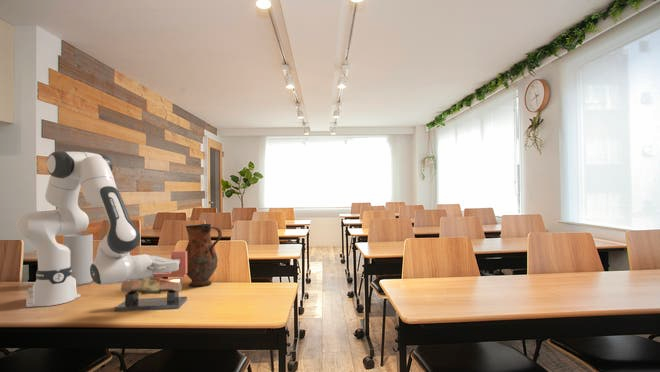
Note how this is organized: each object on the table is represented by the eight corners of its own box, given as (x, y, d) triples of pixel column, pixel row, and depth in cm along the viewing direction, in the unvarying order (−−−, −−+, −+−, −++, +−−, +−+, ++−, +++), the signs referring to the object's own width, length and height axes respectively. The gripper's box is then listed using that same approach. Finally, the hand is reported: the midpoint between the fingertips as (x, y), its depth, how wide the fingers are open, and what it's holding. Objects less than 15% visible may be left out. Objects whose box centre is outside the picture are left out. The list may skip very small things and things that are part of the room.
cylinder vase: (91, 279, 193) (91, 233, 193) (94, 283, 183) (93, 234, 184) (62, 283, 185) (62, 234, 186) (63, 288, 175) (63, 237, 176)
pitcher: (197, 279, 189) (197, 222, 190) (231, 282, 182) (231, 223, 182) (174, 287, 174) (173, 225, 174) (209, 291, 166) (209, 226, 167)
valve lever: (147, 277, 145) (147, 251, 145) (151, 276, 147) (151, 250, 148) (184, 278, 143) (184, 251, 143) (188, 276, 146) (187, 250, 146)
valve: (114, 311, 139) (114, 282, 139) (127, 302, 150) (127, 275, 150) (178, 308, 141) (178, 280, 142) (186, 300, 152) (186, 273, 153)
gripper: (155, 261, 126) (191, 255, 137) (131, 255, 139) (166, 250, 150) (155, 279, 126) (191, 272, 137) (131, 271, 139) (166, 265, 150)
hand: (178, 260), depth 143 cm, fingers closed
